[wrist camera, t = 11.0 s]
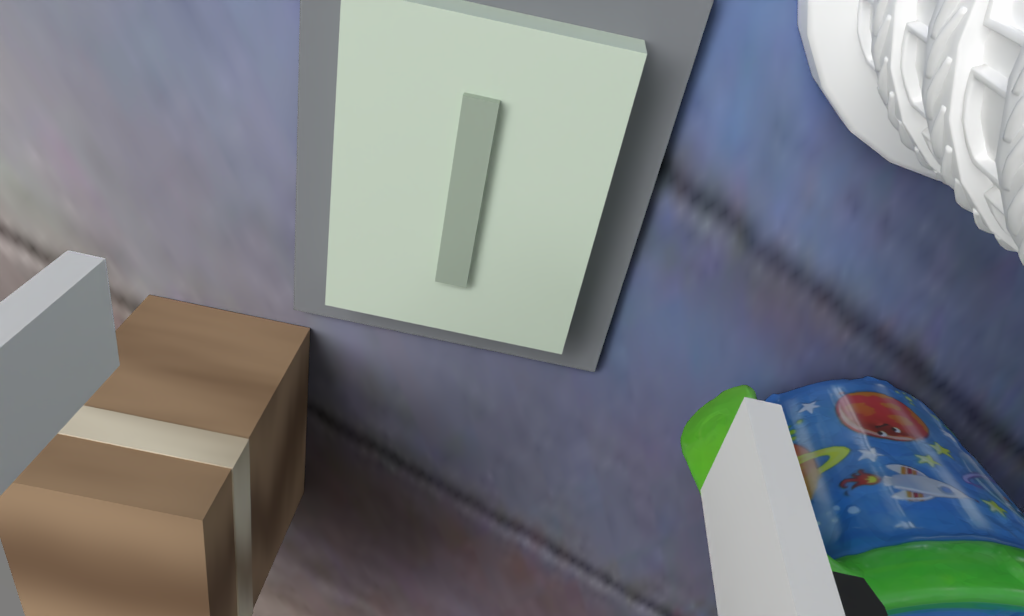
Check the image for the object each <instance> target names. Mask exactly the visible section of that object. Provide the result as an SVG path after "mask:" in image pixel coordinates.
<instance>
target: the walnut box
mask: <svg viewBox="0 0 1024 616" xmlns="http://www.w3.org/2000/svg"><path fill="white" fill-rule="evenodd" d="M115 333H116V340H117V348H118V355H119V362H120V366H119V367H118V368H117V369H116V370H115V371H114V372H113V373H112V374H111V376H110V377H109V378H108V379H107V380H106V381H105V382H104V383H103V384H102V385H101V386H100V388H99V389H98V390H97V391H96V392H95V393H94V394H93V395H92V396H91V397H90V398H89V400H88V401H87V402H86V403H85V404H84V405H83V406H82V407H81V408H80V409H79V411H78V412H77V413H76V414H75V415H74V416H73V417H72V418H71V419H70V420H69V421H68V423H67V424H66V425H65V426H64V427H63V428H62V429H61V430H60V431H59V432H58V433H57V435H56V436H55V437H54V438H53V439H52V440H51V441H50V442H49V443H48V444H47V445H46V447H45V448H44V449H43V450H42V451H41V452H40V453H39V454H38V455H37V456H36V457H35V459H34V460H33V461H32V462H31V463H30V464H29V465H28V466H27V467H26V468H25V469H24V471H23V472H22V473H21V474H20V475H19V476H18V477H17V478H16V479H15V480H14V481H13V483H12V484H11V485H10V486H9V487H8V488H7V489H6V490H5V491H4V492H3V494H2V495H1V496H0V538H1V542H2V544H3V548H4V551H5V554H6V557H7V560H8V563H9V567H10V570H11V573H12V576H13V579H14V582H15V585H16V588H17V592H18V595H19V598H20V601H21V604H22V607H23V610H24V613H25V616H252V614H253V608H254V606H255V603H256V601H257V599H258V596H259V594H260V592H261V589H262V587H263V585H264V583H265V580H266V578H267V576H268V573H269V571H270V569H271V566H272V564H273V562H274V560H275V557H276V555H277V553H278V550H279V548H280V546H281V543H282V541H283V539H284V537H285V534H286V532H287V530H288V527H289V525H290V523H291V520H292V518H293V516H294V513H295V511H296V509H297V507H298V504H299V502H300V500H301V497H302V495H303V493H304V478H305V451H306V425H307V398H308V372H309V345H310V328H307V327H302V326H297V325H292V324H288V323H283V322H278V321H273V320H268V319H263V318H259V317H254V316H249V315H244V314H239V313H234V312H230V311H225V310H220V309H215V308H210V307H206V306H201V305H196V304H191V303H186V302H181V301H177V300H172V299H167V298H162V297H157V296H153V295H149V296H148V297H147V298H146V299H145V300H144V301H143V302H142V303H141V304H140V305H139V306H138V307H137V309H136V310H135V311H134V312H133V313H132V314H131V315H130V316H129V317H128V318H127V319H126V320H125V321H124V322H123V324H122V325H121V326H120V327H119V328H118V329H117V330H116V331H115Z"/></svg>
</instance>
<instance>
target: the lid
mask: <svg viewBox="0 0 1024 616" xmlns="http://www.w3.org/2000/svg"><path fill="white" fill-rule="evenodd" d="M646 57H647V50H646V45H645V40H642V39H637V38H632V37H628V36H623V35H619V34H614V33H610V32H605V31H601V30H596V29H591V28H587V27H582V26H578V25H573V24H569V23H564V22H560V21H555V20H550V19H546V18H541V17H537V16H532V15H528V14H523V13H519V12H514V11H509V10H505V9H500V8H496V7H491V6H487V5H482V4H478V3H473V2H468V1H464V0H341V7H340V26H339V46H338V65H337V84H336V103H335V123H334V142H333V161H332V180H331V200H330V219H329V238H328V257H327V276H326V296H325V305H328V306H333V307H337V308H342V309H347V310H352V311H357V312H361V313H366V314H371V315H376V316H380V317H385V318H390V319H395V320H400V321H404V322H409V323H414V324H419V325H424V326H428V327H433V328H438V329H443V330H447V331H452V332H457V333H462V334H467V335H471V336H476V337H481V338H486V339H490V340H495V341H500V342H505V343H510V344H514V345H519V346H524V347H529V348H533V349H538V350H543V351H548V352H553V353H557V354H562V352H563V348H564V345H565V341H566V338H567V334H568V330H569V327H570V323H571V320H572V316H573V313H574V309H575V306H576V302H577V299H578V295H579V292H580V288H581V285H582V281H583V278H584V274H585V271H586V267H587V264H588V260H589V257H590V253H591V250H592V246H593V243H594V239H595V236H596V232H597V229H598V225H599V222H600V218H601V215H602V211H603V208H604V204H605V201H606V197H607V194H608V190H609V187H610V183H611V180H612V176H613V173H614V169H615V165H616V162H617V158H618V155H619V151H620V148H621V144H622V141H623V137H624V134H625V130H626V127H627V123H628V120H629V116H630V113H631V109H632V106H633V102H634V99H635V95H636V92H637V88H638V85H639V81H640V78H641V74H642V71H643V67H644V64H645V60H646Z"/></svg>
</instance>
